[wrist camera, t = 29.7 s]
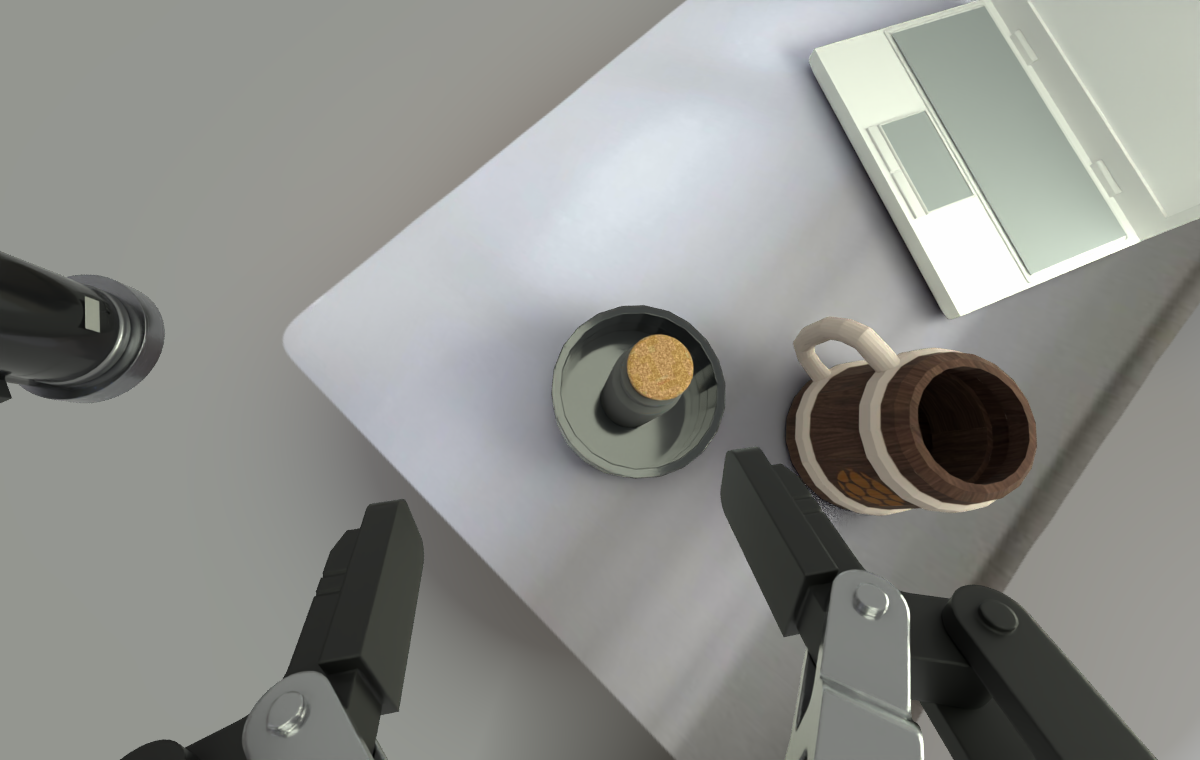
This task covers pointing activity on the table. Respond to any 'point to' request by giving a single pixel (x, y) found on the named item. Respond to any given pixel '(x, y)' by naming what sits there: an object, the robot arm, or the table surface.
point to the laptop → (1024, 134)
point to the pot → (656, 441)
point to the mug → (906, 426)
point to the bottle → (647, 380)
